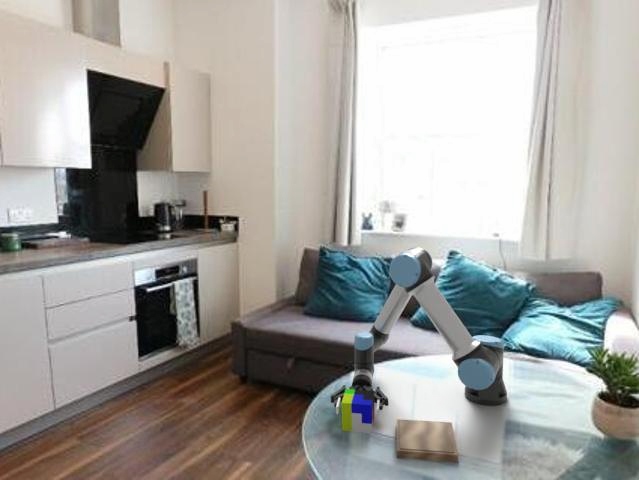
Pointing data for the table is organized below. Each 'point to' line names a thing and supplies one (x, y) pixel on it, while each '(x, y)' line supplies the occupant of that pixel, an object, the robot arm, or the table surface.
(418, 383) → the table surface
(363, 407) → the puzzle toy
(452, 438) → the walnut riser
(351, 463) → the table surface
